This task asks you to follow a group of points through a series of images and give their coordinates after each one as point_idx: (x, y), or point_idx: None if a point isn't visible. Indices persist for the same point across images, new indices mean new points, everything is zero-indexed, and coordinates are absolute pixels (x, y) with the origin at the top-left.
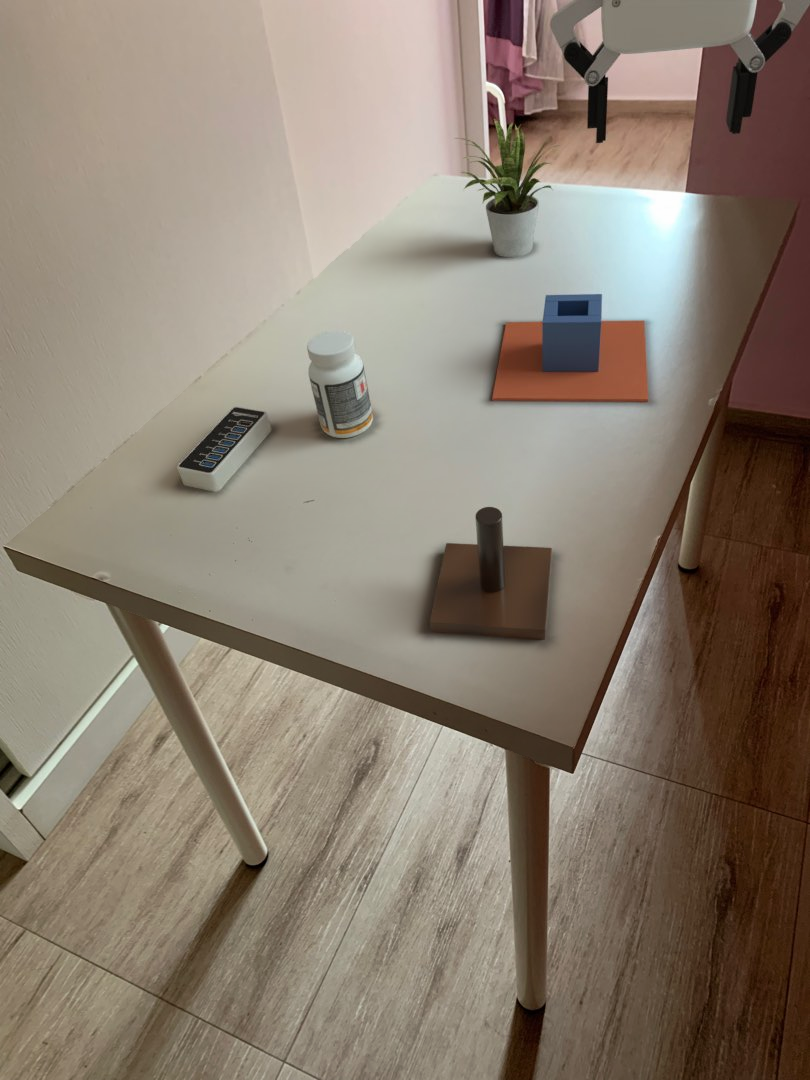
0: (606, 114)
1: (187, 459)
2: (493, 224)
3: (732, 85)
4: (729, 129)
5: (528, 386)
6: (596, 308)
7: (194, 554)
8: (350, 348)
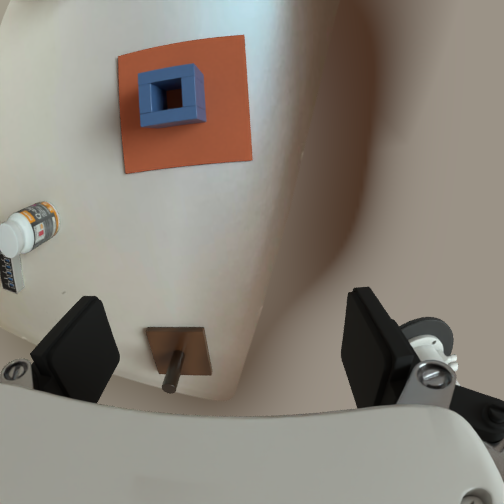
0: (103, 388)
1: (2, 282)
2: None
3: (367, 362)
4: (342, 350)
5: (150, 152)
6: (190, 92)
7: (43, 328)
8: (19, 245)
